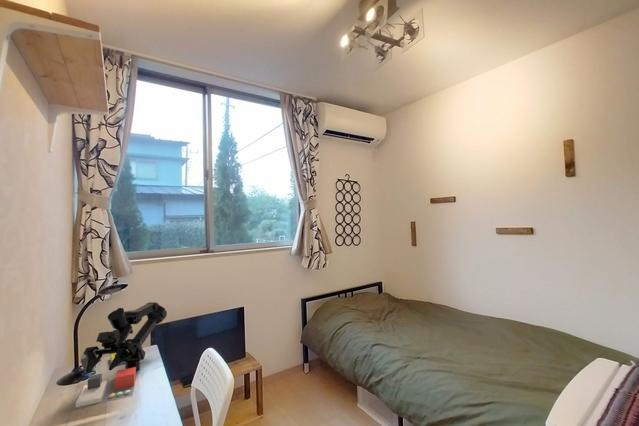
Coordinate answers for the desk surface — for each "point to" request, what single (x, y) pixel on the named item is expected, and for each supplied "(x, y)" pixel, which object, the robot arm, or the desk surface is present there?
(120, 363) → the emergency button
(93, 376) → the grey cube
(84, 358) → the electrical switch
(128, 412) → the desk surface
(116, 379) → the red block
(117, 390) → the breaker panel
